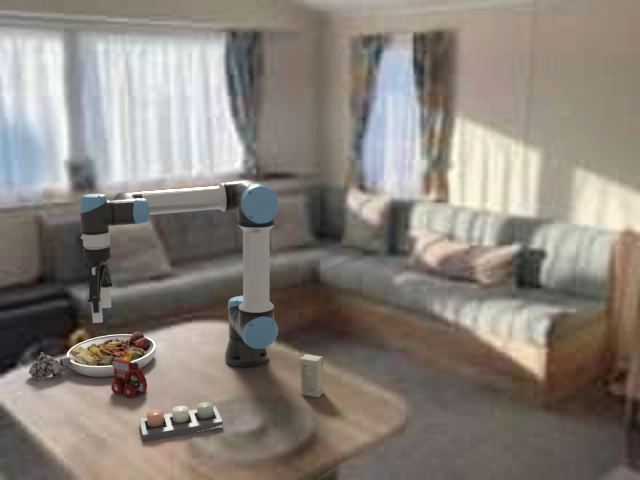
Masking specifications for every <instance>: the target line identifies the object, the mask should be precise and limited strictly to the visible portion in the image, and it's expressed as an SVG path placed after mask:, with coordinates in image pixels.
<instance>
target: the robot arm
mask: <svg viewBox="0 0 640 480" xmlns="http://www.w3.org/2000/svg"><path fill="white" fill-rule="evenodd" d="M279 207H280V203H279V198H278V196H277V194H276V192H275V191H274V190H273V189H272V188H271V187H269V186H268V185H266V184H263V183H260V182H258V181H256V180H253V179H243V180H236V181H228V182H220V183H219V184H218V185H216V186H215V185H214V186H205V187H191V188H190V187H189V188H179V189H177V188H175V189H165V190H153V191H151V190H150V191H139V192H128V191H120V192H118V193H116V194H115V195H114V196H113V197H112V200H110V199H109V200H108V198H107V196H106V195H105V193H104V194H102V193H88V194H84V195H81V197H80V198H79V215H80V223H81V233H82V235H81V236H80V239H81V240H82V245H83V247H84V248H83V259H84V260H85V261H86V262H90V263H91V266H90V267H89V268H88V272H89V285H88V287H89V291H88V299H87V302H88V303H91V314H92V315H91V316H92V323H93V324H95V323H96V324H98V323H99V324H100V323H103V322H104V319H103V309H111V308H112V296H111V287H113V282H112V279H111V275H110V270H109V264H108V260H110V259H111V258H112V253H111V252H112V251H111V247H110V244H111V238H110V228H109V227H111V226H113V227H114V226H124V225H125V226H127V225H140V224H148V222H149V221H150V219H151V218H150V216H153V215H165V214H166V215H167V214H174V213H188V212H199V211H209V210H210V211H212V210H213V211H214V210H220V211H221V212H223V213H225V212H226V213H227V212H234V213H237V226H238V227H239V228H240V229H241V230H242V279H243V280H242V281H243V282H242V291H243V292H242V295H239V296H238V295H237V296H234V297H232V298H230V299H229V300H228V301H227V305H228V306H227V309H228V342H227V346H226V349H225V353H224V361H225V363H226V364H228V365H230V366H232V367H237V368H251V367H256V366H260V365H262V364H264V363H266V362H267V360H268V358H269V355H268V349H267V348H268V347H269V346H271V345H272V344H273V343H274V342H275V340H276V339H277V337H278V333H279V327H278V325H277V322H276V321H275V305H274V304H273V303H272V302H271V301H270V268H271V267H270V257H271V256H270V254H271V253H270V251H271V250H270V246H271V245H270V243H271V242H270V240H271V239H270V233H271V232H270V231H271V229H272V228H274V226H275V217H276V216H277V214H278V213H279Z"/></svg>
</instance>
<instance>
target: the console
mask: <svg viewBox="0 0 640 480" xmlns="http://www.w3.org/2000/svg"><path fill="white" fill-rule="evenodd" d="M213 414H214V416H215V418H216V419H214V418H211V419H207V420H202V421H198V418H199V417H198V416H197V408H196V409H195V408H194V409H189V419H188V420H187V421H186V422H188V421H189V423H182V424H178V425H177V424H176V423H177V422H174V421H173V419H172V412H169V413H164V423H163V424H162V425H164V426H165V427H159V428H154V429H147V428H150V427H151V426H148V425H147V416H146V417H140V418H139V426H140V432H141V438H142V442H149V441H154V440H161V439H165V438H172V437H177V436H183V435H191V434H195V433H194V432H196V433H198V432H197V431H202V430H207V429H210V428H213V427H216V426H219V425H222V424H224V423H223V422H224V421H223V419H222V416H221V415H220V412H219V410H218V408H217V406H216V405H213ZM214 416H213V417H214ZM173 423H175V424H176V425H172V424H173ZM162 425H161V426H162ZM202 432H203V431H202Z"/></svg>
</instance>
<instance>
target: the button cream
mask: <svg viewBox="0 0 640 480" xmlns="http://www.w3.org/2000/svg"><path fill="white" fill-rule="evenodd" d="M189 410H190V409H189V407H188V406H186V405H178V406H175V407H173V408H172V409H171V413H172V419H173V421H174V422H176V423H184V422H188V421H189V420H188V419H189ZM187 420H188V421H187Z"/></svg>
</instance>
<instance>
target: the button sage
mask: <svg viewBox="0 0 640 480" xmlns="http://www.w3.org/2000/svg"><path fill="white" fill-rule="evenodd" d="M213 406H214V404H213V403H212V402H209V401H202V402H200V403H198V404H197V405H196V409H197V416H198V417H199V418H200V419H208V418H212V417H214V416H213Z"/></svg>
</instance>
